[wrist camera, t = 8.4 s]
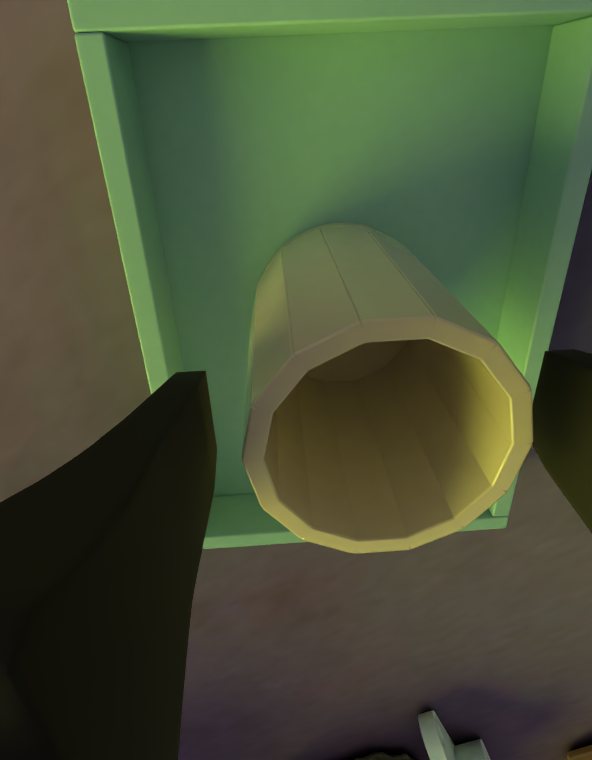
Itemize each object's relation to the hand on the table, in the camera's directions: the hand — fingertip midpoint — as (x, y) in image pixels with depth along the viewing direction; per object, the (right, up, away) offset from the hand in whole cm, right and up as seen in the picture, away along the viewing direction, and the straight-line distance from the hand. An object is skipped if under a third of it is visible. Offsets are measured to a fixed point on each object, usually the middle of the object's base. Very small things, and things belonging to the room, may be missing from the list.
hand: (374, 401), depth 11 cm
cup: (0, +3, +4) cm, 5 cm away
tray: (0, +3, +5) cm, 6 cm away
